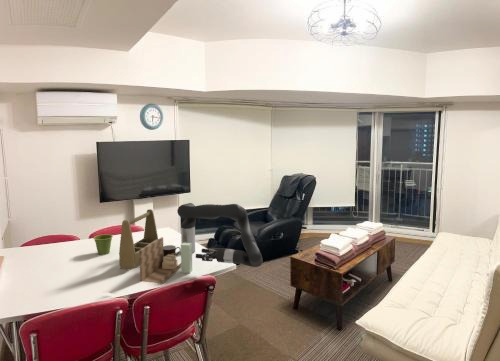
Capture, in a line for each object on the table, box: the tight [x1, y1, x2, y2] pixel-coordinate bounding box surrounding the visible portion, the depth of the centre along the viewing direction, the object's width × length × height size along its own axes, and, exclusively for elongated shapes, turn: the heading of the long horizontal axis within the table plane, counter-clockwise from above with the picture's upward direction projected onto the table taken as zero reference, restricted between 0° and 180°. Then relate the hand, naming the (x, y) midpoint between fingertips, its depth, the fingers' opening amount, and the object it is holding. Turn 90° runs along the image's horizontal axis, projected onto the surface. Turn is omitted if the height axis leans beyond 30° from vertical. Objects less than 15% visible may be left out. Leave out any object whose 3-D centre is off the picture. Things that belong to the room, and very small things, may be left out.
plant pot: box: [93, 233, 114, 256], centre depth 216 cm, size 12×12×11 cm
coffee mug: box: [163, 244, 181, 257], centre depth 200 cm, size 12×9×10 cm
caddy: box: [118, 209, 159, 270], centre depth 202 cm, size 29×11×30 cm, turn 168°
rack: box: [139, 236, 181, 284], centre depth 181 cm, size 24×13×18 cm, turn 167°
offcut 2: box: [162, 259, 179, 269], centre depth 191 cm, size 6×7×4 cm
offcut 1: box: [163, 254, 177, 263], centre depth 190 cm, size 5×6×3 cm
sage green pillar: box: [180, 243, 193, 274], centre depth 183 cm, size 4×5×17 cm
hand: (198, 253), depth 181 cm, fingers open, 8 cm apart
